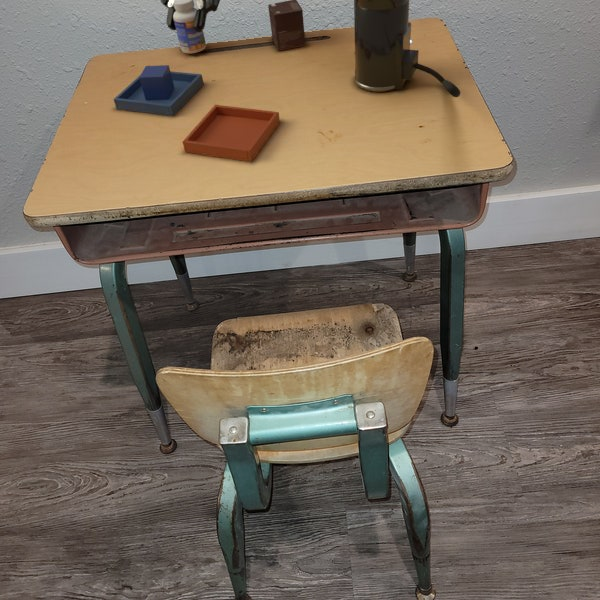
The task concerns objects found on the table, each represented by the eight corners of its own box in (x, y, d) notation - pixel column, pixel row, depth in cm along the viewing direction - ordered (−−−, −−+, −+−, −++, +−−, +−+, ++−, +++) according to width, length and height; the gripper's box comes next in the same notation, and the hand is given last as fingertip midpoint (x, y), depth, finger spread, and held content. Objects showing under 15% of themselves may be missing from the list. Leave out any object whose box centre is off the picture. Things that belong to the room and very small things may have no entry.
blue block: (174, 87, 114) (168, 64, 111) (168, 99, 111) (162, 76, 108) (152, 88, 114) (145, 65, 111) (145, 100, 111) (138, 77, 108)
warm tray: (280, 122, 103) (278, 112, 101) (251, 161, 95) (249, 151, 94) (217, 114, 106) (215, 104, 105) (185, 152, 99) (182, 141, 97)
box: (306, 46, 123) (303, 9, 117) (277, 51, 122) (273, 14, 117) (299, 34, 127) (296, -2, 121) (271, 39, 126) (267, 3, 121)
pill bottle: (194, 56, 123) (183, 7, 116) (175, 51, 125) (163, 2, 118) (211, 45, 125) (202, -3, 118) (193, 40, 128) (182, -7, 121)
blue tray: (203, 84, 115) (201, 74, 113) (173, 116, 107) (170, 106, 106) (149, 78, 119) (147, 68, 117) (116, 109, 111) (113, 99, 110)
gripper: (158, -67, 118) (144, 19, 119) (222, -66, 114) (207, 23, 115) (177, -47, 125) (163, 35, 127) (238, -45, 121) (224, 39, 122)
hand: (184, 29), depth 121 cm, fingers closed on pill bottle, 5 cm apart
